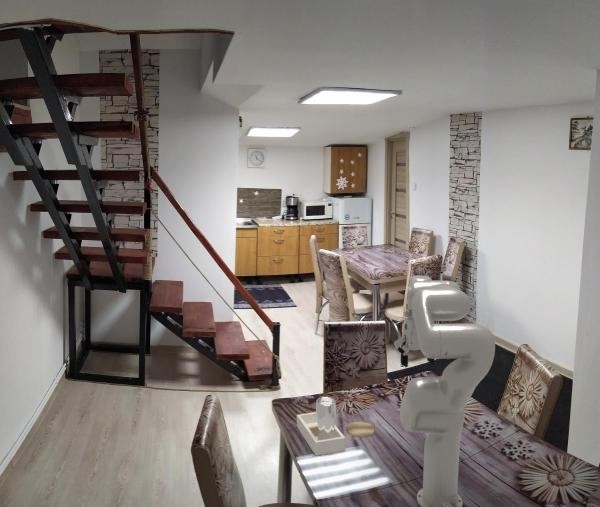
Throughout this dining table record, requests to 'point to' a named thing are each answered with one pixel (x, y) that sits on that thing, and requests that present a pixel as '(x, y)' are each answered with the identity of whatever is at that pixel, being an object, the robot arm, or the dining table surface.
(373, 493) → the dining table surface
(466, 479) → the dining table surface
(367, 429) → the cork trivet
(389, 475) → the dining table surface
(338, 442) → the cream divided tray
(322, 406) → the beer glass
